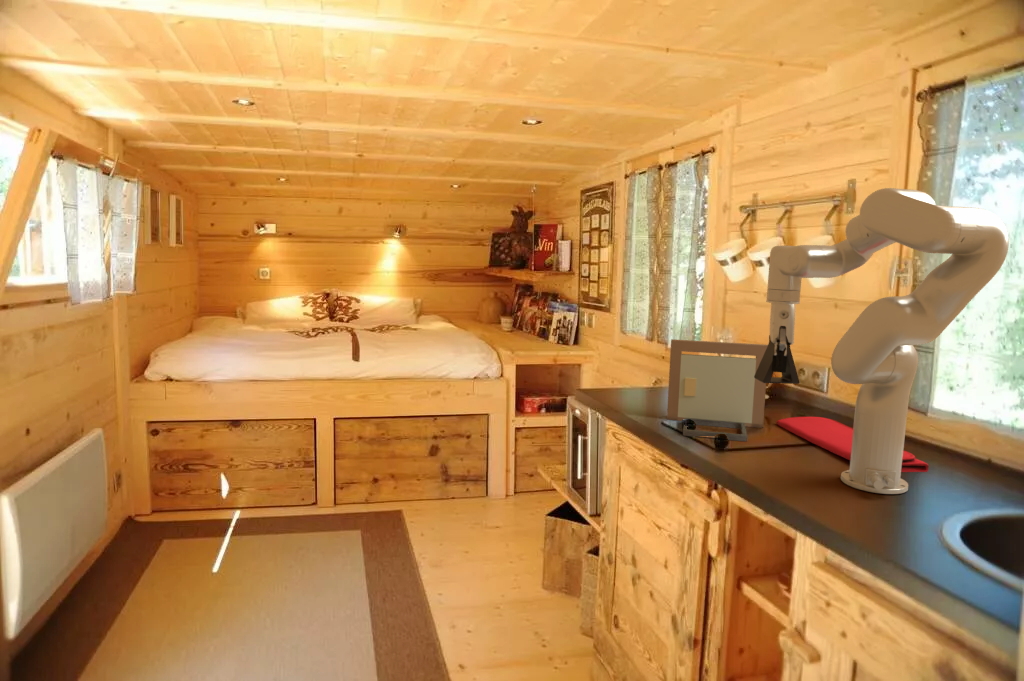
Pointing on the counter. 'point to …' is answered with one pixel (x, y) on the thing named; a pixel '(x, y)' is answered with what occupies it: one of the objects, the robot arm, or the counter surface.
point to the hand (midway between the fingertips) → (777, 368)
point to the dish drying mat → (838, 438)
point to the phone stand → (765, 367)
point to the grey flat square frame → (719, 424)
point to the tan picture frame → (716, 382)
